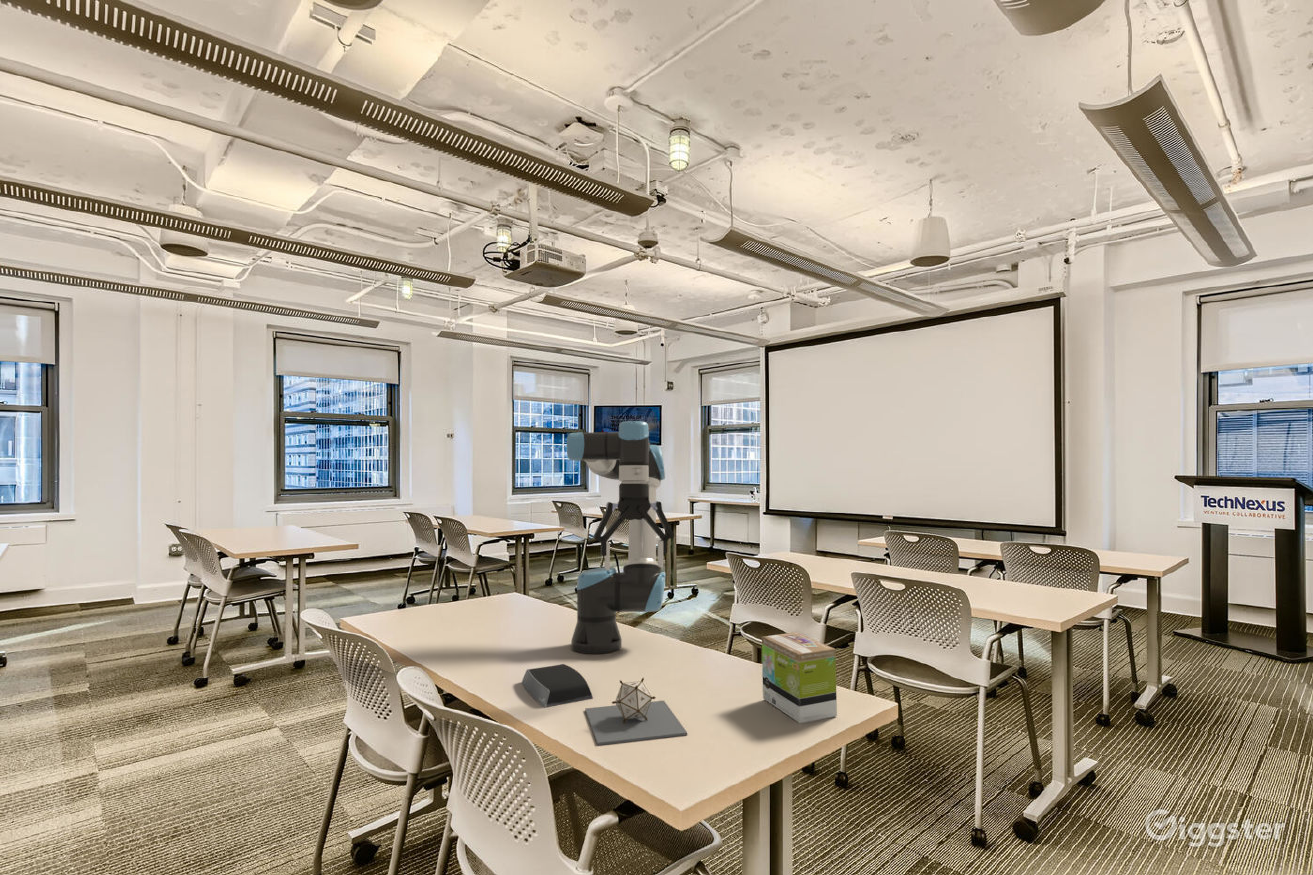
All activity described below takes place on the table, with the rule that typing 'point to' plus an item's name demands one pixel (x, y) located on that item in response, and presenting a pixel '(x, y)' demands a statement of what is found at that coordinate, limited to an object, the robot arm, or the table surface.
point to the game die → (633, 700)
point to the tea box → (799, 676)
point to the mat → (633, 724)
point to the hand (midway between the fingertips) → (634, 568)
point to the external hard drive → (556, 685)
